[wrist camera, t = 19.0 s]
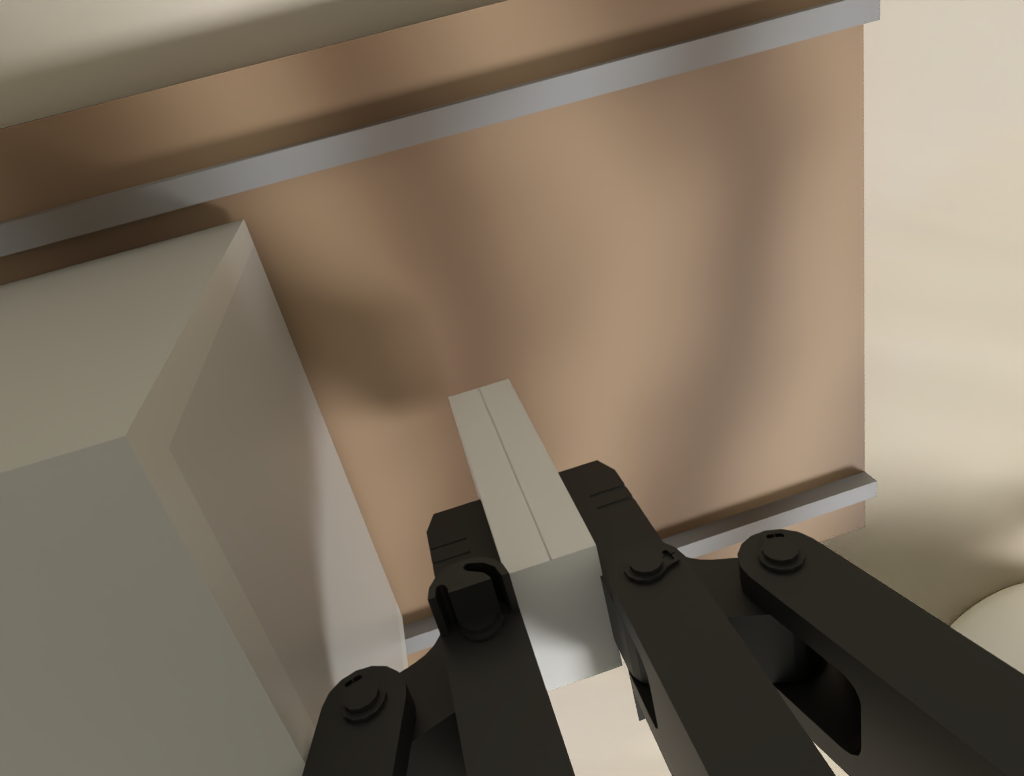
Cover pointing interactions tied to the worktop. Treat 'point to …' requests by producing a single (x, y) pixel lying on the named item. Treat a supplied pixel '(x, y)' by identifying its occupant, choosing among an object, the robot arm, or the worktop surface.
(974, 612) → the cup
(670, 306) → the board
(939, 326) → the worktop surface
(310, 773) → the robot arm
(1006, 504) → the worktop surface
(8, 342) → the housing
